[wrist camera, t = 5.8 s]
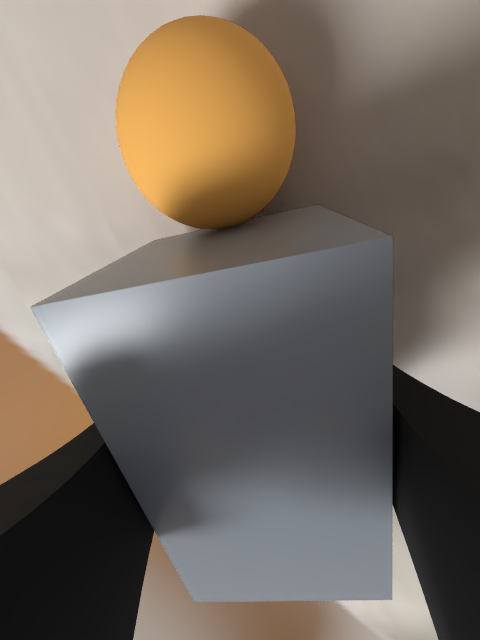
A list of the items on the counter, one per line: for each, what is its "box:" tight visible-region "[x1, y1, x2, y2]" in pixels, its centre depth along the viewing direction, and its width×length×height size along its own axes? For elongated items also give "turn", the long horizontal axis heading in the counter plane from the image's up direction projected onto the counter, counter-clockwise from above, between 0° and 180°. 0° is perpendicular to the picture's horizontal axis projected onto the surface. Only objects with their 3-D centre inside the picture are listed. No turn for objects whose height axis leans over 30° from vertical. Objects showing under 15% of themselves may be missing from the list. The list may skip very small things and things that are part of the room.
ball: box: [116, 15, 296, 229], centre depth 8 cm, size 5×5×5 cm
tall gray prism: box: [30, 204, 393, 602], centre depth 10 cm, size 10×6×6 cm, turn 12°
